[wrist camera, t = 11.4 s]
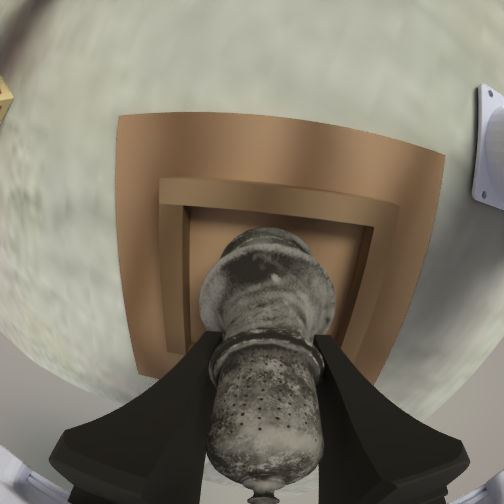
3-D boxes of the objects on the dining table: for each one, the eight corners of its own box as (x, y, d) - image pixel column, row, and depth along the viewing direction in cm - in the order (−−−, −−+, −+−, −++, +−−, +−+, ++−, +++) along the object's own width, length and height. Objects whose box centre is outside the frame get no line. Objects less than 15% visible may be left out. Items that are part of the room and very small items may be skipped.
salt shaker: (276, 335, 16) (279, 536, 5) (193, 283, 15) (98, 488, 4) (343, 263, 14) (449, 473, 3) (254, 197, 13) (200, 422, 2)
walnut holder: (439, 154, 12) (459, 156, 10) (365, 390, 19) (371, 409, 17) (123, 116, 13) (105, 113, 11) (141, 368, 19) (132, 386, 17)
